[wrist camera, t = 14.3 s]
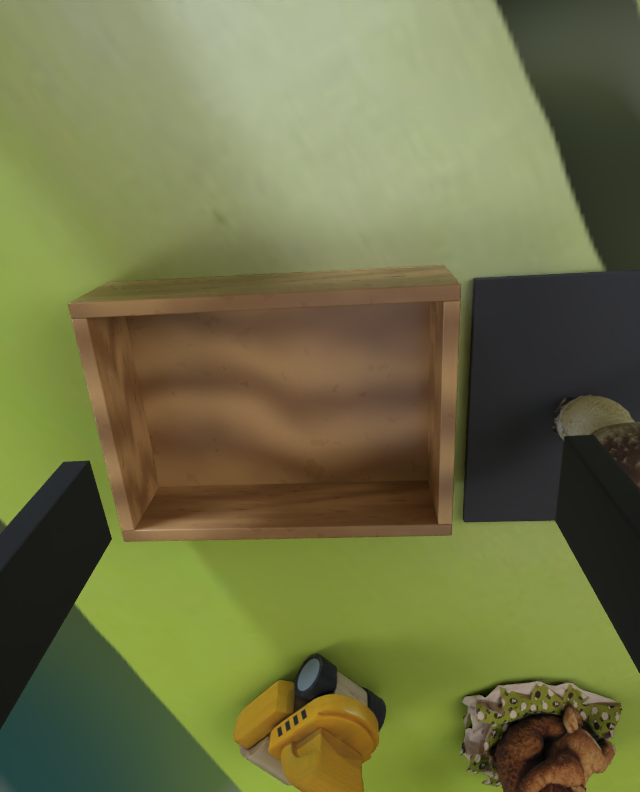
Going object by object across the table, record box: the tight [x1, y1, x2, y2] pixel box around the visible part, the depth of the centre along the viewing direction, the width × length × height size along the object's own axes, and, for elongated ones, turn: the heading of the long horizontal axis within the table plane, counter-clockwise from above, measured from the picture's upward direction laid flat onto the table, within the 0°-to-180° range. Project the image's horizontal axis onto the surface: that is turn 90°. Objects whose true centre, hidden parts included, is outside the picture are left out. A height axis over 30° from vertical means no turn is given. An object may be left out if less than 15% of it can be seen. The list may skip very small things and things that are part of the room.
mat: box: [463, 270, 640, 522], centre depth 42 cm, size 20×16×1 cm
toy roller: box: [234, 654, 386, 792], centre depth 51 cm, size 9×14×10 cm, turn 137°
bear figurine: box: [460, 679, 622, 792], centre depth 51 cm, size 14×15×12 cm
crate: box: [68, 265, 461, 542], centre depth 41 cm, size 18×24×6 cm
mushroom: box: [552, 394, 640, 489], centre depth 35 cm, size 9×9×15 cm
